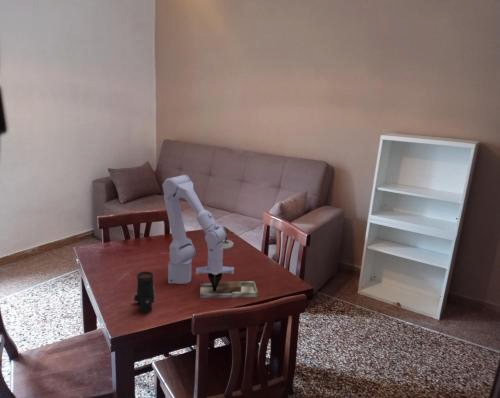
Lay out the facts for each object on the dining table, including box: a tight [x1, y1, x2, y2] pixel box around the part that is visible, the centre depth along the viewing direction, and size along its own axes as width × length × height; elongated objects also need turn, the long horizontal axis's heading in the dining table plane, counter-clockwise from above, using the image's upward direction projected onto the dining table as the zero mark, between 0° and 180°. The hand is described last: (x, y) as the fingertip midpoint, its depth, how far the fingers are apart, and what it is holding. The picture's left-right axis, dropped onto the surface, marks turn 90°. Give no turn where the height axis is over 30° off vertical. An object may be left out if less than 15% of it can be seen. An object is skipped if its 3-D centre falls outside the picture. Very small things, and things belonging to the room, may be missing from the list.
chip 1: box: [218, 281, 230, 293], centre depth 152 cm, size 4×4×3 cm
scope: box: [132, 271, 156, 314], centre depth 138 cm, size 8×14×10 cm
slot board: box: [199, 280, 259, 299], centre depth 152 cm, size 22×9×3 cm, turn 97°
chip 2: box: [228, 281, 241, 293], centre depth 153 cm, size 4×4×3 cm
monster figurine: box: [223, 227, 235, 250], centre depth 198 cm, size 12×12×10 cm
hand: (214, 289), depth 152 cm, fingers closed
